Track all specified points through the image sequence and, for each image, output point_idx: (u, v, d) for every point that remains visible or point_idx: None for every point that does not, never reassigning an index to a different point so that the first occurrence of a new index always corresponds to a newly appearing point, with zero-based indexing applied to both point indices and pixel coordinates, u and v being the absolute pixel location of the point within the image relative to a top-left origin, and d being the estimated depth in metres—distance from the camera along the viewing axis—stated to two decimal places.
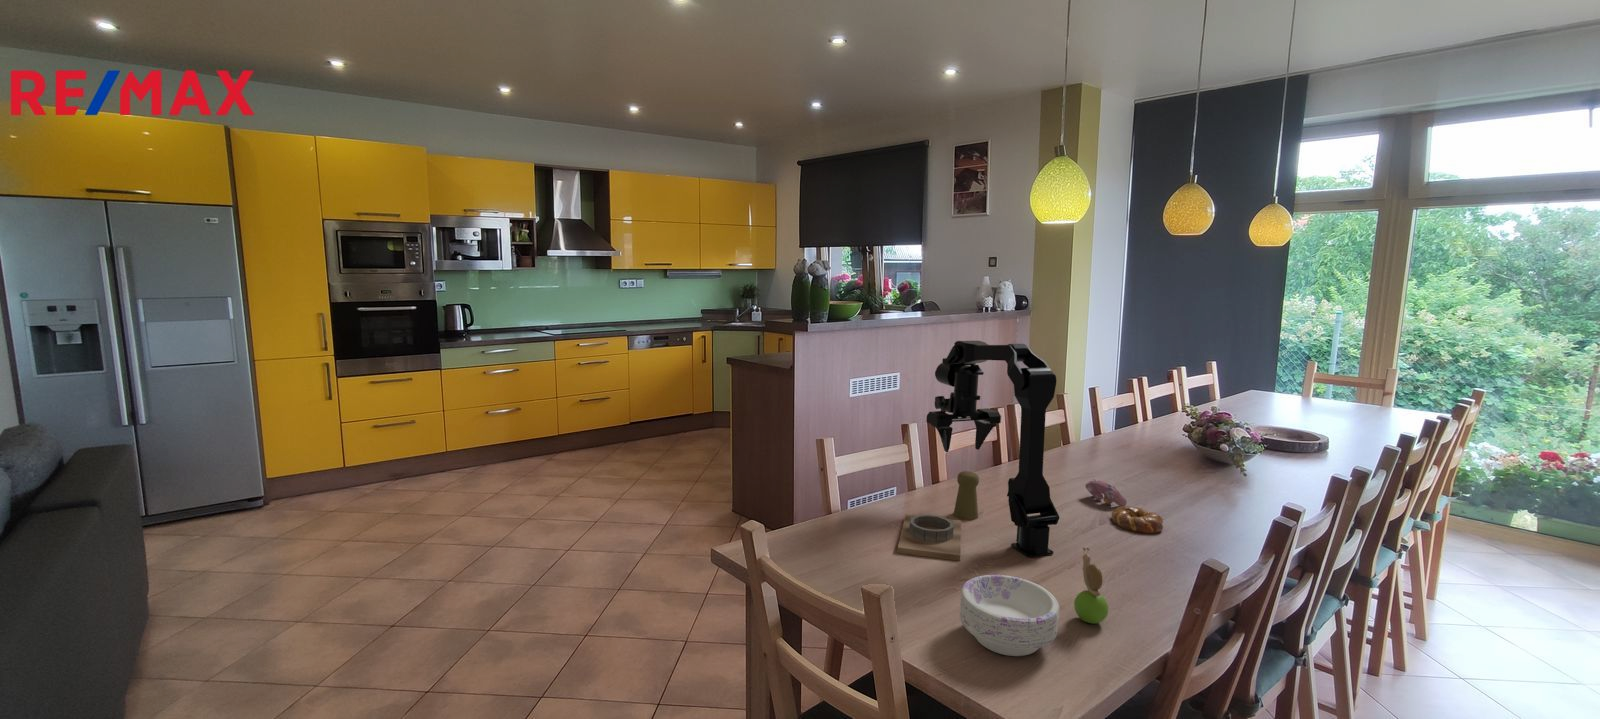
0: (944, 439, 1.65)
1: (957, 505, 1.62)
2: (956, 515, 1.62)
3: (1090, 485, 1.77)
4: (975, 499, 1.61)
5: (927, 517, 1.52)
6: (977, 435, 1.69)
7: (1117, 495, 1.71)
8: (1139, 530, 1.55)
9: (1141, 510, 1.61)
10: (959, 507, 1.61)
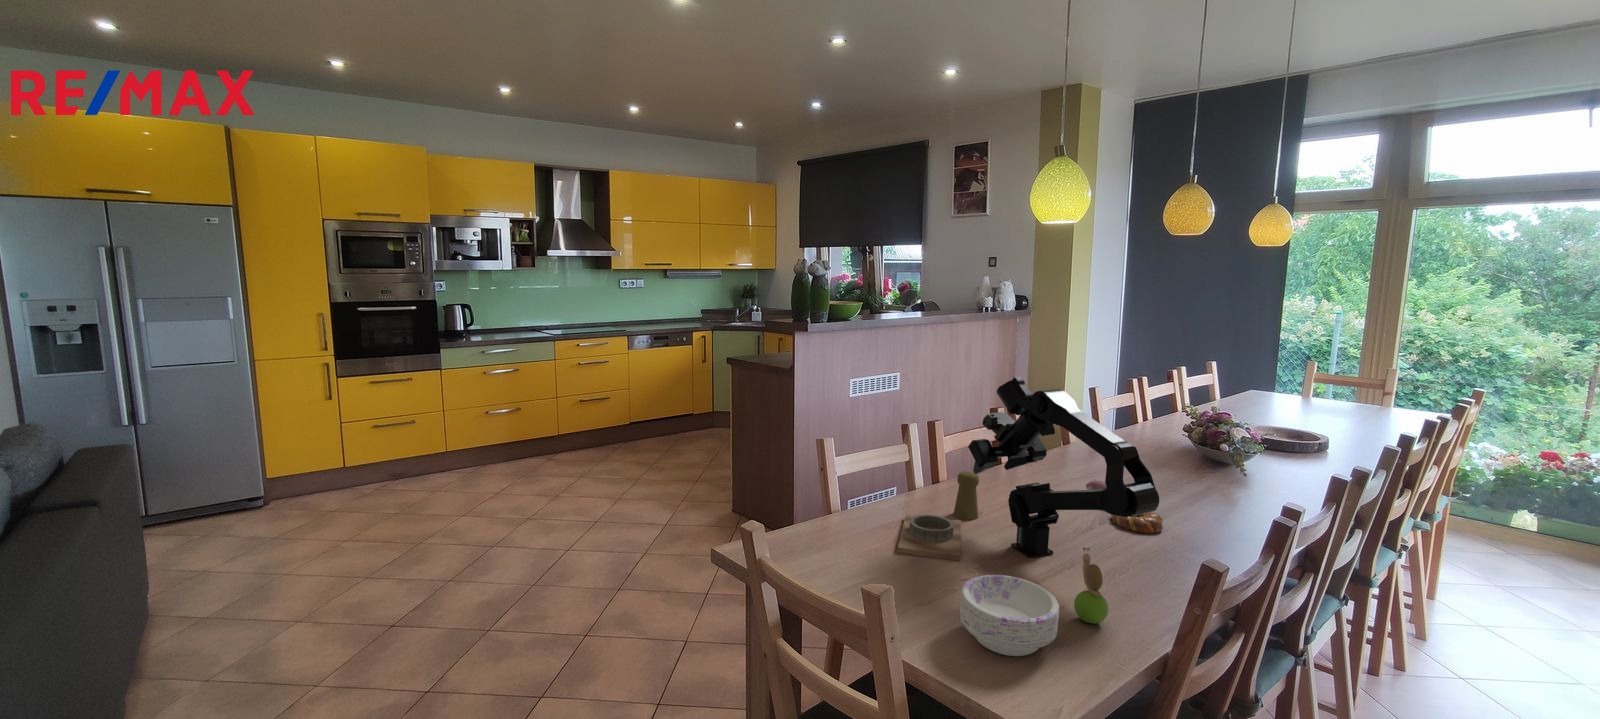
0: (978, 467, 1.50)
1: (957, 505, 1.62)
2: (956, 515, 1.62)
3: (1091, 485, 1.77)
4: (975, 499, 1.61)
5: (927, 517, 1.52)
6: (1012, 458, 1.55)
7: None
8: (1139, 530, 1.55)
9: None
10: (959, 507, 1.61)
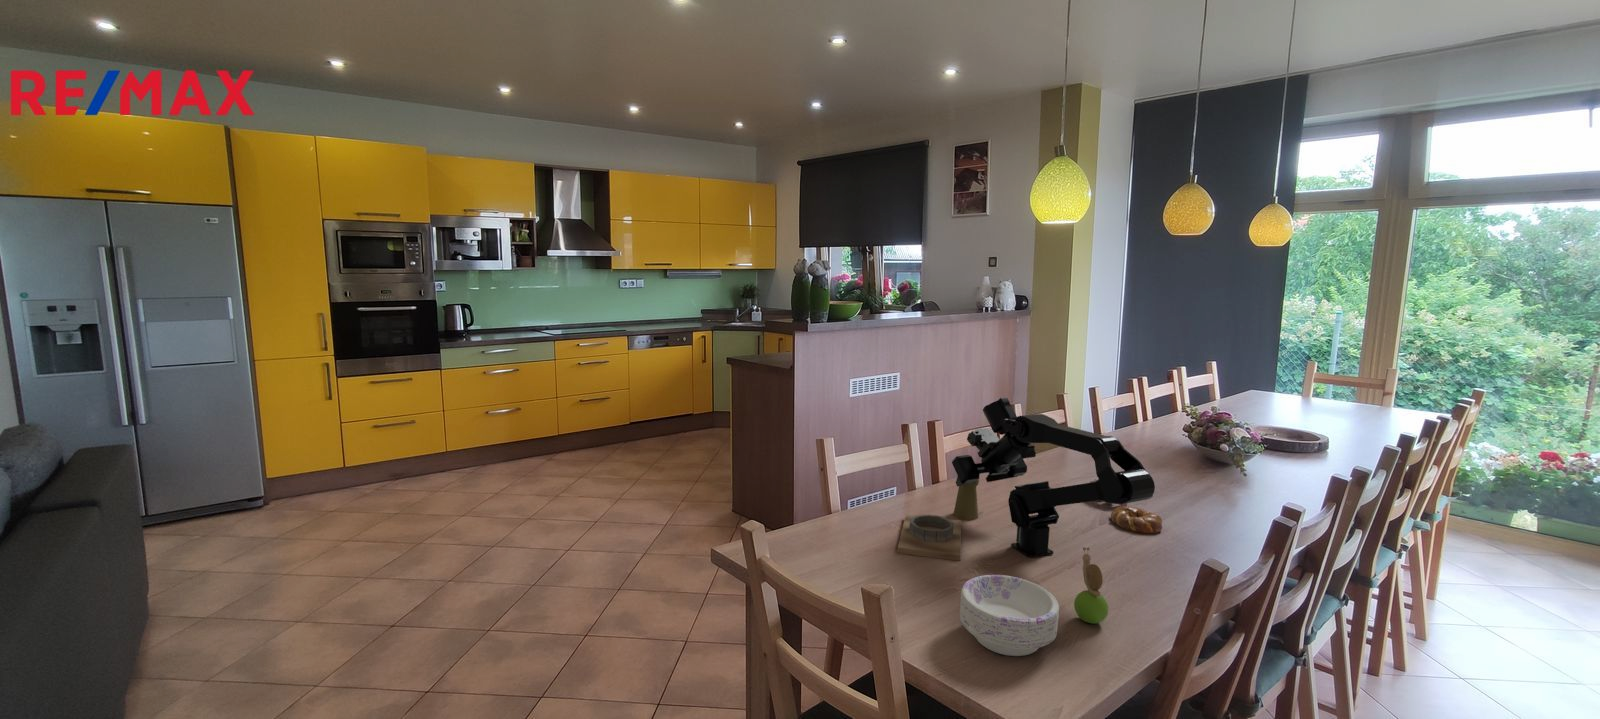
0: None
1: (957, 505, 1.62)
2: (956, 515, 1.62)
3: None
4: (975, 499, 1.61)
5: (927, 517, 1.52)
6: None
7: None
8: (1138, 530, 1.55)
9: (1140, 510, 1.61)
10: (959, 507, 1.61)
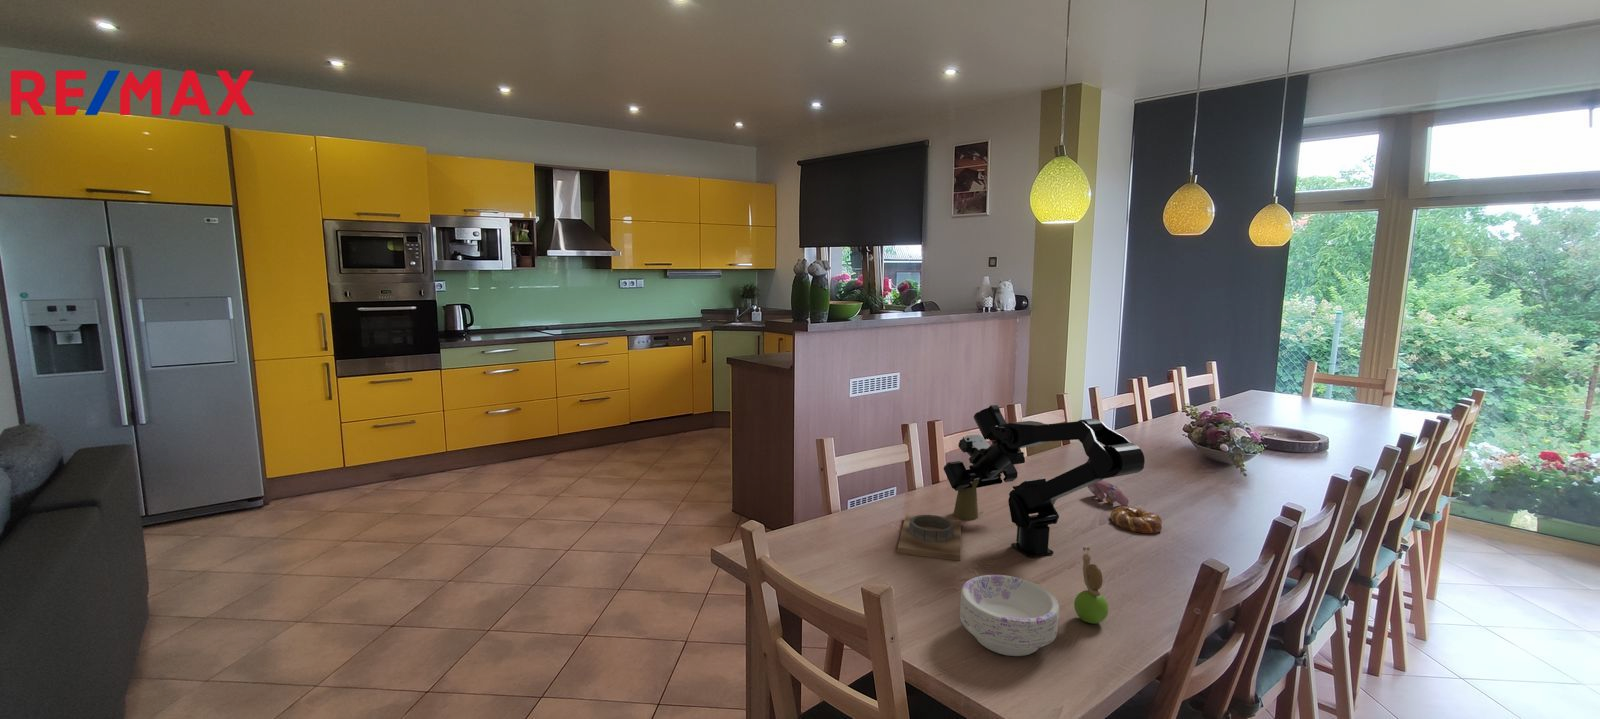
0: None
1: (957, 505, 1.62)
2: (956, 515, 1.62)
3: (1092, 485, 1.77)
4: (975, 499, 1.61)
5: (927, 517, 1.52)
6: (979, 478, 1.62)
7: (1120, 494, 1.71)
8: (1138, 530, 1.55)
9: (1140, 510, 1.61)
10: (959, 507, 1.61)
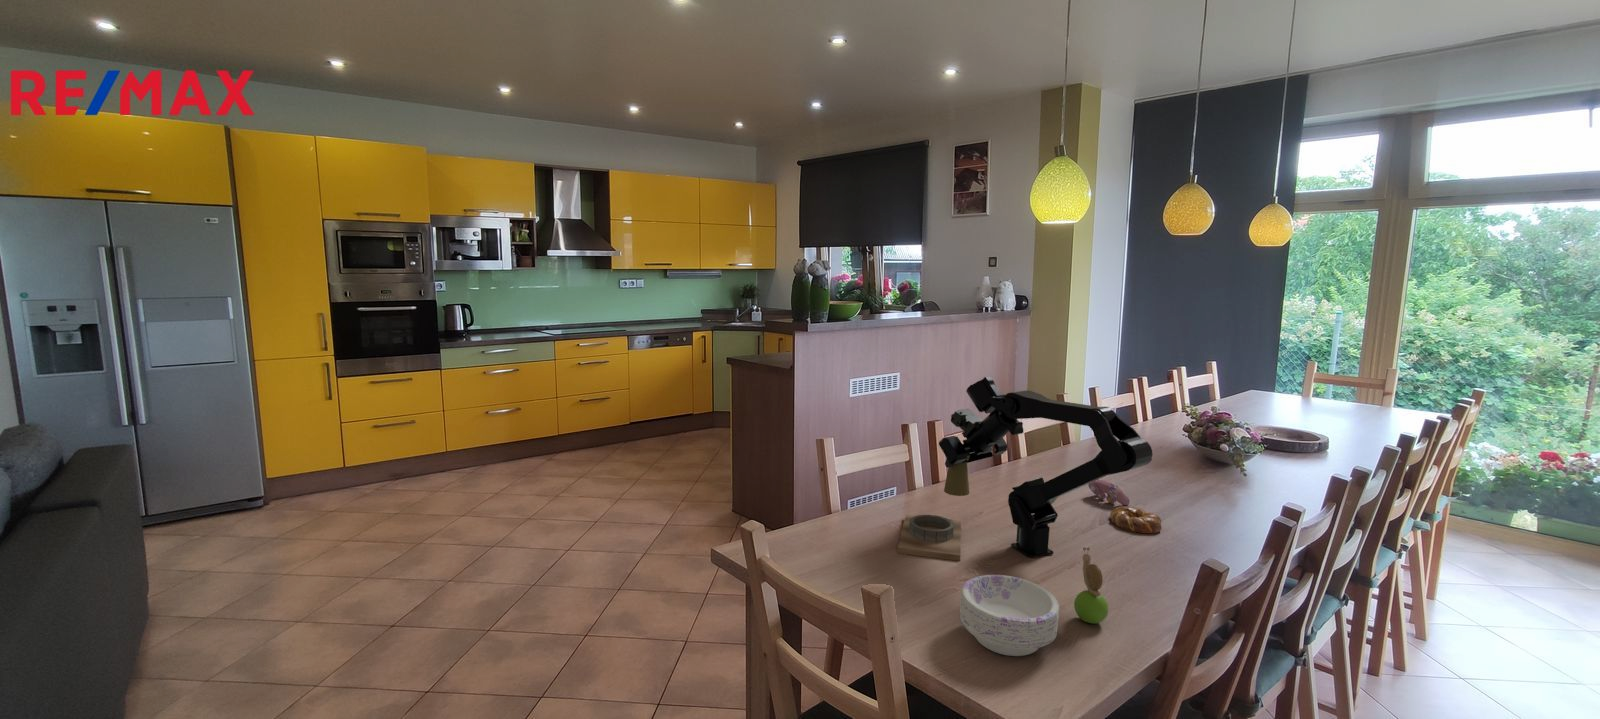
0: None
1: (949, 482, 1.59)
2: (948, 492, 1.59)
3: (1093, 484, 1.77)
4: (966, 474, 1.58)
5: (927, 517, 1.52)
6: None
7: (1121, 494, 1.71)
8: (1138, 530, 1.55)
9: (1140, 510, 1.61)
10: (952, 483, 1.58)
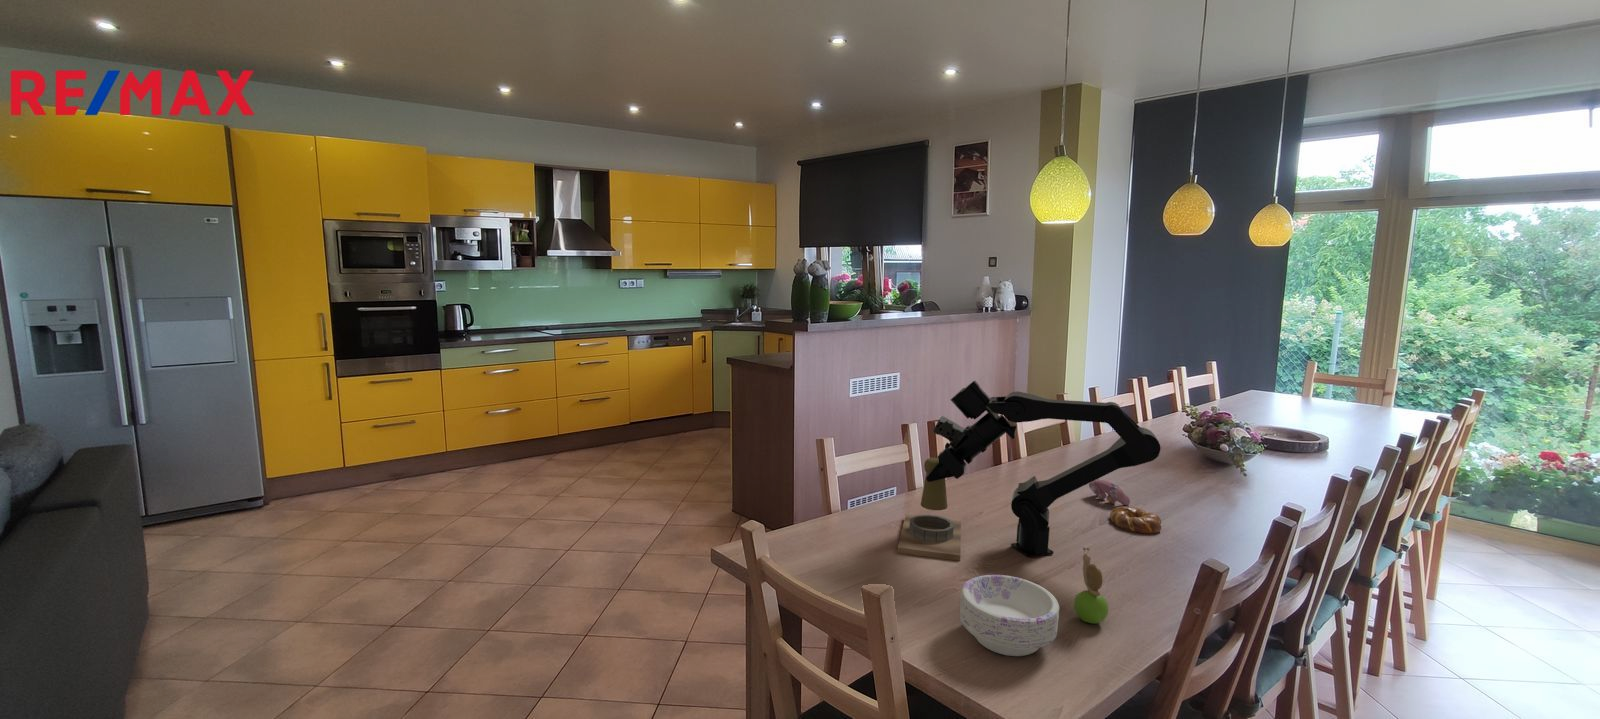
0: (939, 474, 1.45)
1: (931, 497, 1.48)
2: (931, 508, 1.48)
3: (1094, 484, 1.77)
4: None
5: (927, 517, 1.52)
6: None
7: (1121, 494, 1.72)
8: (1137, 530, 1.55)
9: (1139, 510, 1.61)
10: (935, 498, 1.48)
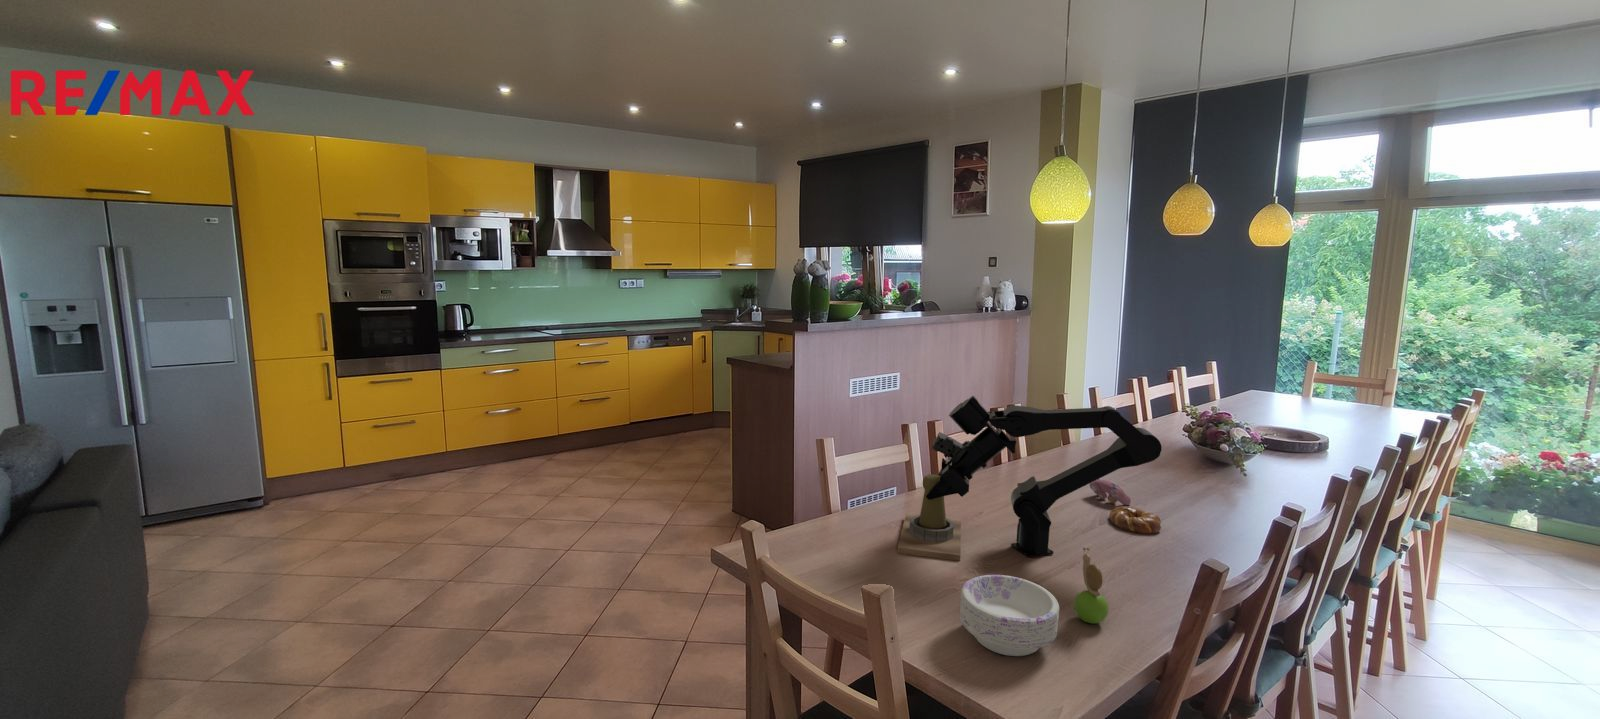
0: (940, 492, 1.43)
1: (931, 514, 1.45)
2: (932, 526, 1.45)
3: (1094, 484, 1.77)
4: None
5: None
6: None
7: (1122, 494, 1.72)
8: (1137, 530, 1.55)
9: (1139, 510, 1.61)
10: (935, 515, 1.45)
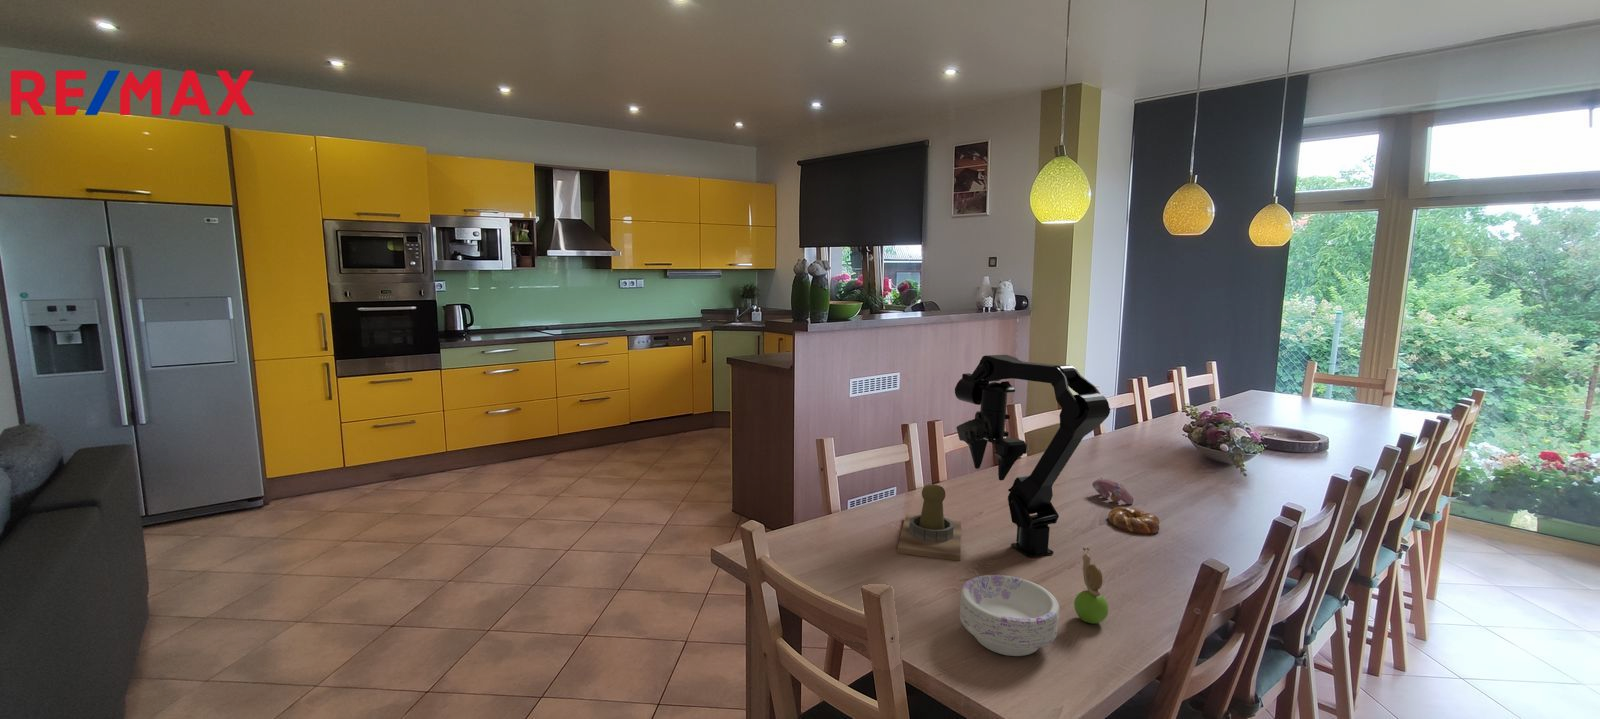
0: (1007, 466, 1.49)
1: (930, 525, 1.46)
2: None
3: (1097, 483, 1.78)
4: None
5: None
6: (977, 454, 1.58)
7: (1125, 493, 1.73)
8: (1135, 531, 1.55)
9: (1138, 511, 1.61)
10: (934, 526, 1.46)
